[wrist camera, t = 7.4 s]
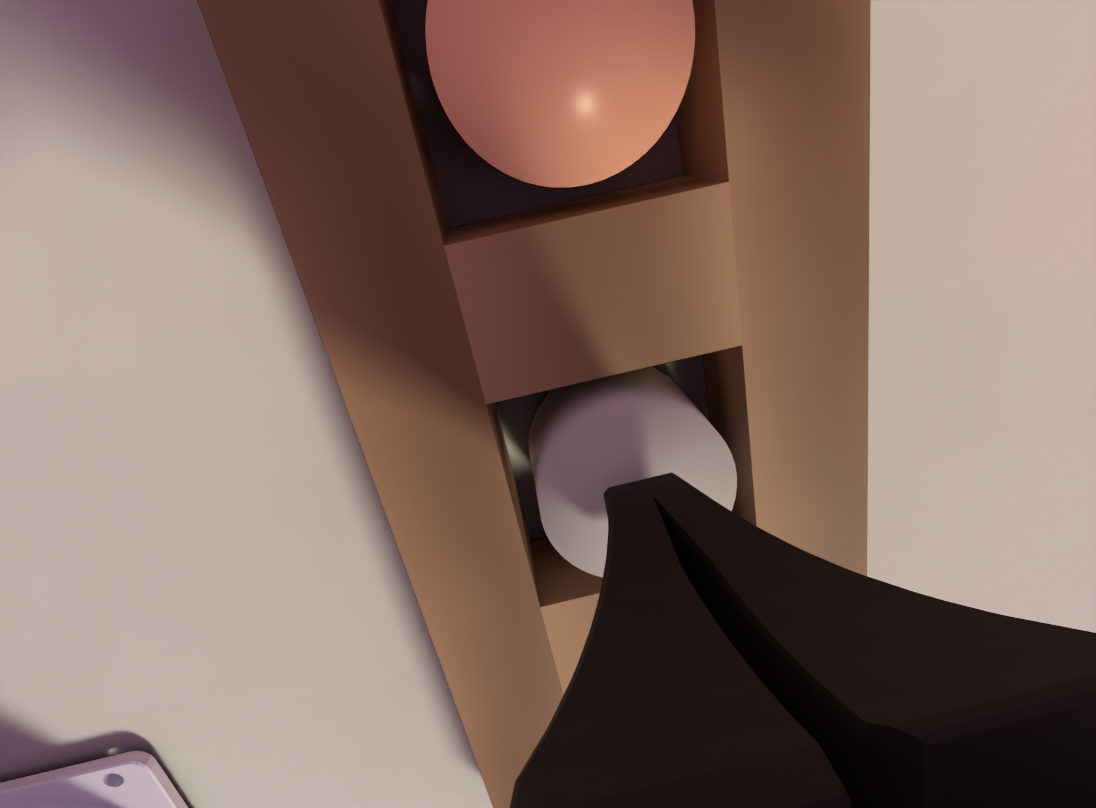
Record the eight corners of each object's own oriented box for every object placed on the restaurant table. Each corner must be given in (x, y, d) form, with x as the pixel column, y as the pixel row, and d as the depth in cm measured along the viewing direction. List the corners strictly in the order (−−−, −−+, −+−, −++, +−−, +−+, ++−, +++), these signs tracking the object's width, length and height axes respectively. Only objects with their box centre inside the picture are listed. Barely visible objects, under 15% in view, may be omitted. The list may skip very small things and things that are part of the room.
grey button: (547, 529, 15) (560, 598, 13) (511, 383, 14) (519, 432, 11) (702, 492, 16) (744, 555, 13) (685, 343, 14) (728, 383, 12)
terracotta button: (466, 199, 12) (464, 212, 10) (408, -39, 11) (389, -93, 8) (662, 155, 12) (707, 158, 10) (633, -87, 11) (678, -154, 8)
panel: (517, 801, 20) (522, 887, 17) (197, -138, 10) (116, -221, 8) (820, 726, 20) (865, 801, 18) (784, -260, 10) (872, -376, 8)
